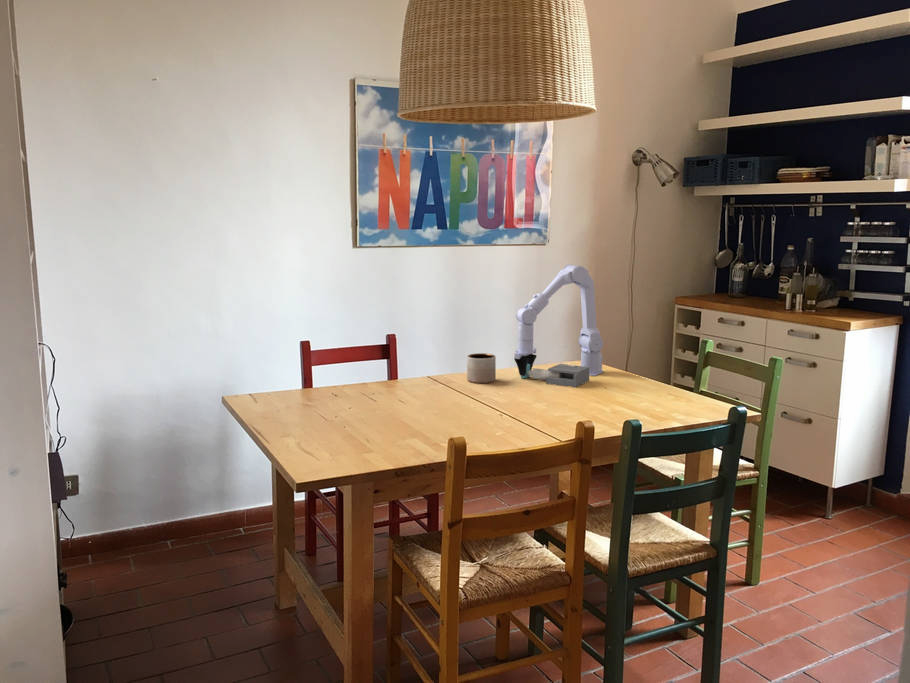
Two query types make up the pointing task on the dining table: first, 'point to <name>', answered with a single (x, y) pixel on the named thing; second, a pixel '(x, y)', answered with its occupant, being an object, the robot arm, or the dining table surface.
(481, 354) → the planter
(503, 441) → the dining table surface
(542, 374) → the cartridge
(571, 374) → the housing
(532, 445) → the dining table surface
